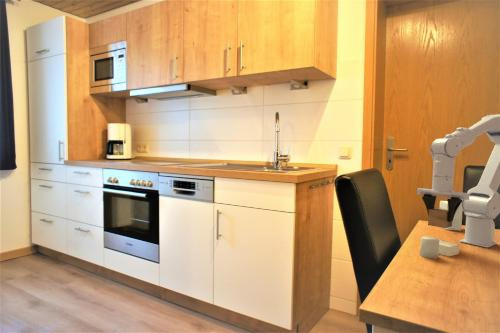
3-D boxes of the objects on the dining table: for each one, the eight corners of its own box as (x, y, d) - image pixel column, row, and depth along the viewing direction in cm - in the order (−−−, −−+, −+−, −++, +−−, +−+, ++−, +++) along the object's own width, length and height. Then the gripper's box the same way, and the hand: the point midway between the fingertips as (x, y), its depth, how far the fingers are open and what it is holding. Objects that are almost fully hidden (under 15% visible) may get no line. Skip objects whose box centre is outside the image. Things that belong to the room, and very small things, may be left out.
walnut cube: (434, 223, 106) (435, 208, 106) (451, 226, 102) (452, 210, 102) (427, 225, 103) (428, 209, 103) (445, 228, 99) (446, 211, 99)
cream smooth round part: (424, 252, 94) (425, 235, 94) (441, 257, 90) (442, 239, 90) (416, 255, 91) (418, 237, 91) (434, 259, 88) (435, 241, 87)
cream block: (437, 249, 100) (438, 239, 99) (458, 254, 95) (459, 244, 94) (427, 251, 96) (427, 241, 96) (448, 257, 91) (449, 246, 91)
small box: (461, 231, 126) (463, 204, 125) (445, 229, 127) (447, 203, 127) (453, 226, 134) (454, 201, 133) (438, 225, 135) (439, 200, 134)
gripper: (413, 175, 105) (411, 216, 106) (464, 178, 94) (461, 225, 94) (423, 174, 110) (421, 215, 110) (473, 178, 98) (470, 223, 99)
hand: (440, 219), depth 102 cm, fingers closed on walnut cube, 5 cm apart
